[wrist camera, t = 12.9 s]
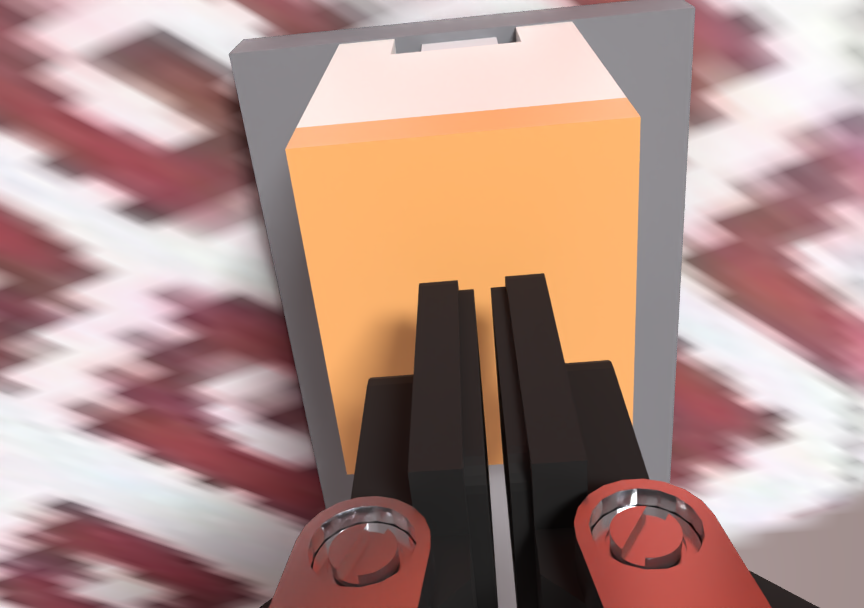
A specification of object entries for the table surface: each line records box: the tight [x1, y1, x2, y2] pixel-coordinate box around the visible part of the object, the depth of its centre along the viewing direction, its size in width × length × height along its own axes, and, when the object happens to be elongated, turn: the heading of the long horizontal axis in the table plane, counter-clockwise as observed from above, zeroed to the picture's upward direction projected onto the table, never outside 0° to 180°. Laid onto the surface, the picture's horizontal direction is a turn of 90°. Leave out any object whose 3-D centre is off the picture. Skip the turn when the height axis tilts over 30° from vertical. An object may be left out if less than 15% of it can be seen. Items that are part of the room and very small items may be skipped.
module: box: [285, 22, 641, 475], centre depth 16 cm, size 5×6×7 cm
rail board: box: [229, 0, 695, 608], centre depth 20 cm, size 10×14×6 cm
